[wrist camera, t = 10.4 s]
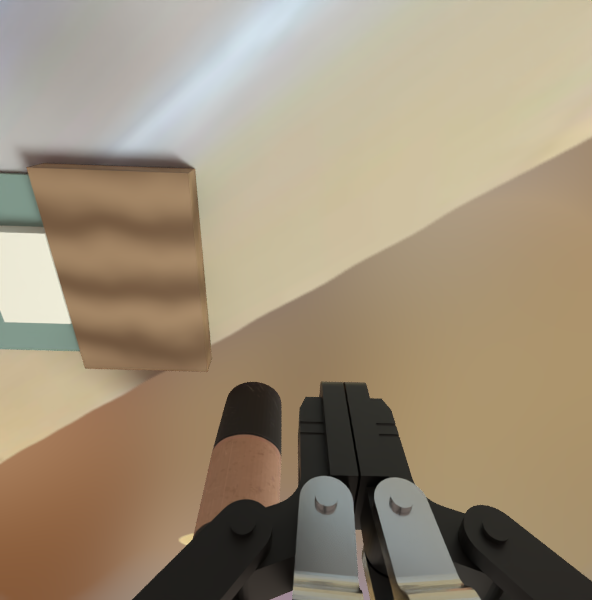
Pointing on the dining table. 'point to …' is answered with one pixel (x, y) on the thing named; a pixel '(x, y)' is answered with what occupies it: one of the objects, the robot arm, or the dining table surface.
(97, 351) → the board
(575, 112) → the dining table surface
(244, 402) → the travel mug
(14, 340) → the rubber mat
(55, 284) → the plastic block
